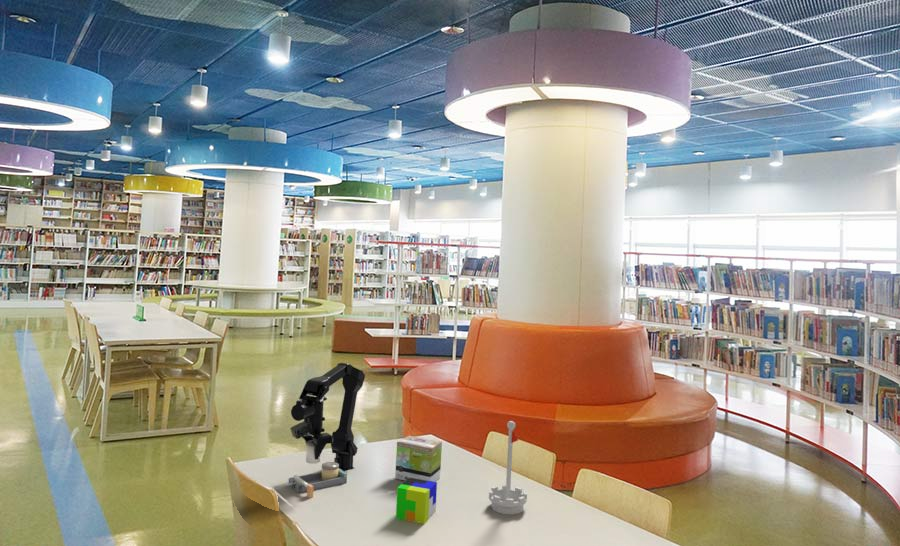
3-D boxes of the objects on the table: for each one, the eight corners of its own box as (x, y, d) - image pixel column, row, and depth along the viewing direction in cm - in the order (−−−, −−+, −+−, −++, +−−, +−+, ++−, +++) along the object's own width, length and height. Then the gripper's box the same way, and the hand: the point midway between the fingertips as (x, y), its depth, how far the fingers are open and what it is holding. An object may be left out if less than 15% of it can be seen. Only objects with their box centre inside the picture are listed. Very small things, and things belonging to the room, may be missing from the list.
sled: (296, 484, 211) (296, 473, 211) (313, 498, 200) (313, 486, 200) (270, 490, 205) (271, 478, 205) (286, 504, 194) (287, 491, 194)
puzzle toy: (435, 512, 194) (436, 482, 194) (424, 524, 185) (425, 492, 185) (408, 506, 198) (409, 477, 197) (395, 518, 188) (397, 487, 188)
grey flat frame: (334, 476, 222) (334, 465, 222) (346, 484, 215) (347, 473, 215) (288, 485, 211) (288, 474, 211) (299, 494, 203) (299, 483, 203)
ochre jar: (333, 476, 220) (334, 461, 220) (341, 481, 215) (341, 465, 215) (318, 479, 216) (318, 463, 216) (325, 485, 211) (326, 468, 211)
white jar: (303, 460, 212) (304, 441, 212) (316, 457, 215) (317, 439, 215) (309, 464, 208) (310, 445, 207) (322, 462, 211) (323, 442, 211)
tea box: (394, 479, 222) (396, 441, 221) (406, 471, 231) (407, 434, 231) (430, 487, 216) (432, 447, 216) (440, 478, 225) (442, 440, 225)
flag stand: (481, 502, 204) (485, 417, 203) (514, 498, 209) (518, 415, 209) (499, 517, 192) (503, 427, 191) (533, 512, 197) (537, 424, 197)
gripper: (283, 411, 213) (281, 453, 214) (305, 423, 199) (303, 469, 199) (311, 407, 220) (310, 448, 220) (334, 419, 206) (332, 463, 206)
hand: (313, 457), depth 211 cm, fingers closed on white jar, 5 cm apart
